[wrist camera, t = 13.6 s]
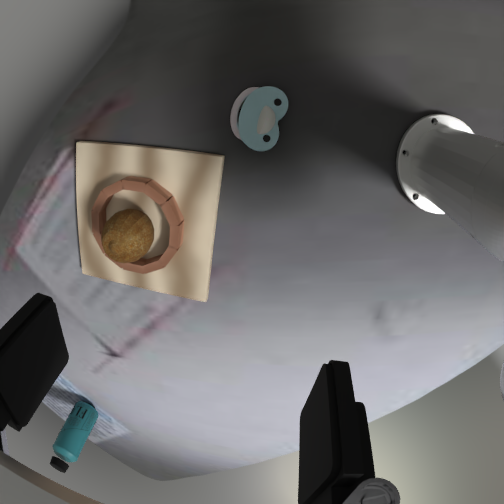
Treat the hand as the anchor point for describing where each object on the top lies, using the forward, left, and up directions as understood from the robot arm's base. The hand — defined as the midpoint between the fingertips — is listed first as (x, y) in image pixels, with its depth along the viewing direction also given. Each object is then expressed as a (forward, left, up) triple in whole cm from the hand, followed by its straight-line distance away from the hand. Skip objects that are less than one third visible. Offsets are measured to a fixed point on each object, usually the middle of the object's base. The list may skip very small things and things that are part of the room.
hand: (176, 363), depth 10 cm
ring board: (+14, +9, -30) cm, 35 cm away
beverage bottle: (+31, +59, -31) cm, 73 cm away
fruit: (+14, +9, -29) cm, 34 cm away
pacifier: (+1, -6, -31) cm, 31 cm away
